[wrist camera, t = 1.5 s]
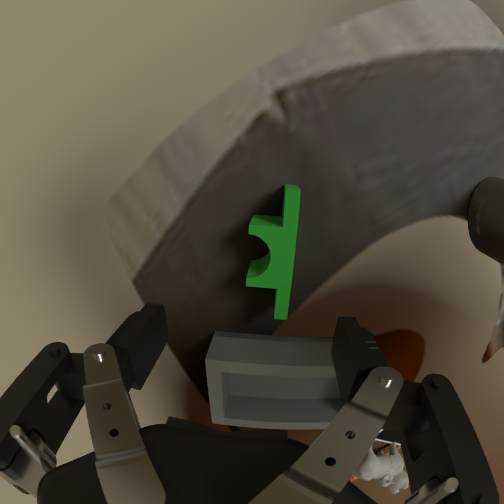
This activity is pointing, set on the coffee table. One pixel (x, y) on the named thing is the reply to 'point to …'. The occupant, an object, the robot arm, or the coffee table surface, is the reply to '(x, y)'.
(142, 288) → the coffee table surface
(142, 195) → the coffee table surface
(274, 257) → the pipe clamp
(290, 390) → the bin
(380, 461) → the dog figurine
